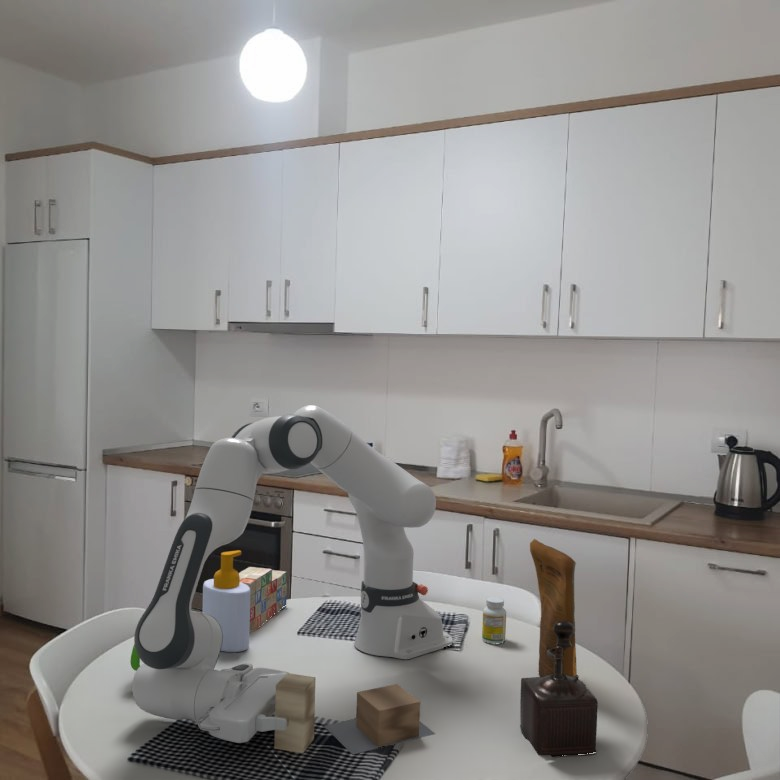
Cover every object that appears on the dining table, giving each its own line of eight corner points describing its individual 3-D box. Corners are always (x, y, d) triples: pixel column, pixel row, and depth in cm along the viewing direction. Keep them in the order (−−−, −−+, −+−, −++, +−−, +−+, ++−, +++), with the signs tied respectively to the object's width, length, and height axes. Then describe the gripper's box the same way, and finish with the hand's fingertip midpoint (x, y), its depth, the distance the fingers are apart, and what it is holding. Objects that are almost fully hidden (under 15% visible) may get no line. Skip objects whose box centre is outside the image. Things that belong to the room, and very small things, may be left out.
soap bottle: (258, 646, 175) (261, 555, 174) (228, 656, 169) (230, 562, 168) (222, 631, 184) (224, 544, 183) (192, 640, 177) (193, 550, 177)
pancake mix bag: (553, 704, 150) (558, 558, 149) (522, 665, 169) (527, 535, 168) (587, 703, 151) (593, 558, 150) (553, 664, 170) (558, 535, 169)
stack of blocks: (264, 604, 204) (265, 557, 204) (286, 607, 203) (287, 559, 202) (224, 631, 184) (225, 579, 183) (248, 635, 182) (250, 582, 182)
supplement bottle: (497, 646, 179) (498, 604, 179) (477, 640, 183) (478, 599, 182) (509, 640, 183) (511, 599, 183) (490, 634, 187) (491, 594, 186)
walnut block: (395, 716, 142) (396, 683, 142) (419, 735, 135) (420, 701, 135) (356, 725, 138) (357, 692, 138) (378, 746, 132) (379, 710, 131)
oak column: (286, 736, 135) (287, 673, 134) (313, 741, 133) (315, 677, 133) (274, 750, 130) (275, 684, 129) (302, 755, 129) (304, 689, 128)
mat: (402, 709, 146) (402, 707, 146) (435, 735, 137) (435, 733, 137) (323, 727, 138) (323, 725, 138) (352, 756, 129) (352, 754, 129)
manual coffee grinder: (601, 755, 132) (606, 648, 131) (537, 758, 130) (541, 650, 129) (567, 712, 147) (571, 617, 146) (509, 715, 145) (513, 618, 145)
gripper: (191, 706, 125) (273, 719, 121) (248, 659, 145) (320, 669, 141) (191, 745, 125) (272, 760, 121) (248, 693, 145) (319, 703, 141)
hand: (298, 710), depth 131 cm, fingers open, 8 cm apart
